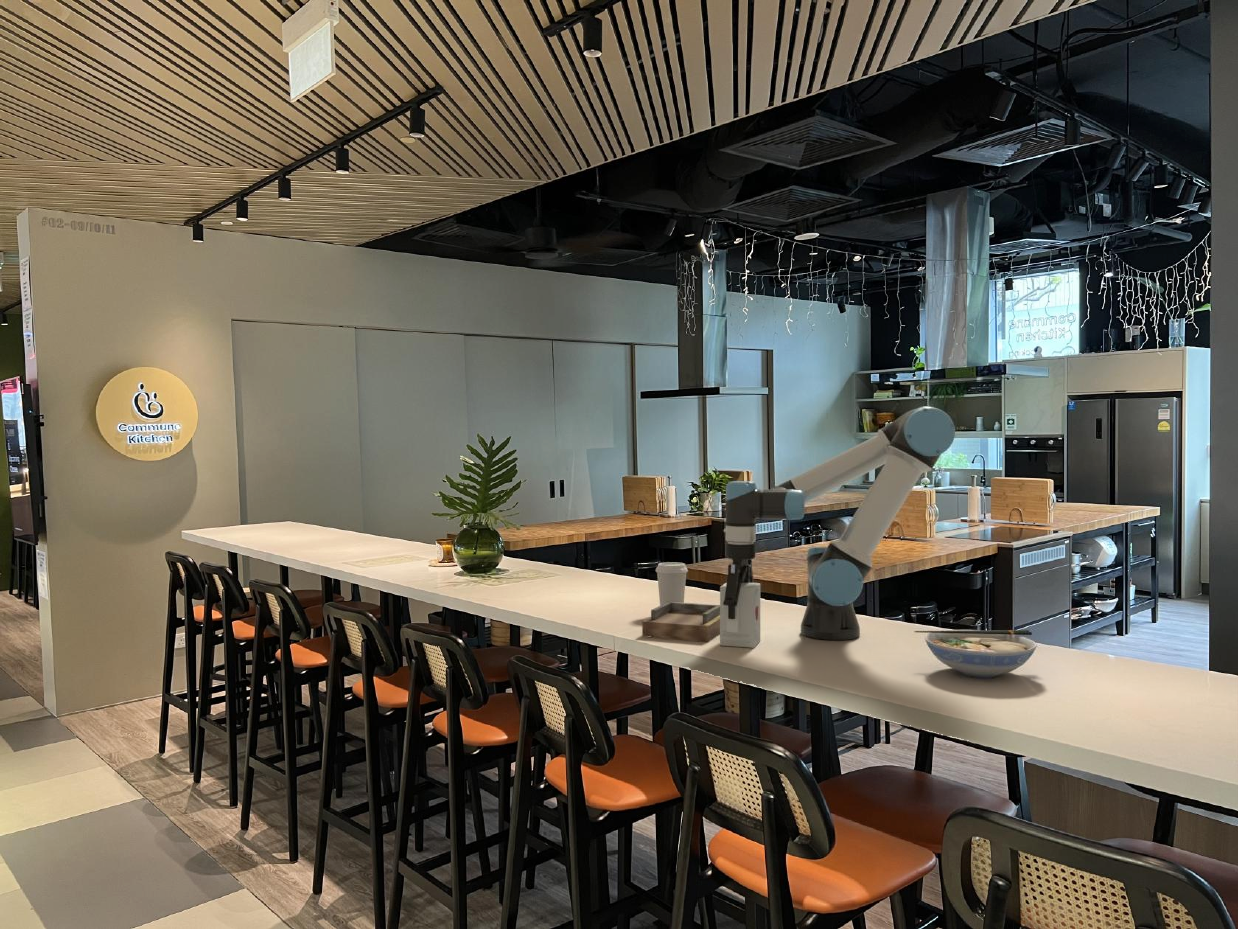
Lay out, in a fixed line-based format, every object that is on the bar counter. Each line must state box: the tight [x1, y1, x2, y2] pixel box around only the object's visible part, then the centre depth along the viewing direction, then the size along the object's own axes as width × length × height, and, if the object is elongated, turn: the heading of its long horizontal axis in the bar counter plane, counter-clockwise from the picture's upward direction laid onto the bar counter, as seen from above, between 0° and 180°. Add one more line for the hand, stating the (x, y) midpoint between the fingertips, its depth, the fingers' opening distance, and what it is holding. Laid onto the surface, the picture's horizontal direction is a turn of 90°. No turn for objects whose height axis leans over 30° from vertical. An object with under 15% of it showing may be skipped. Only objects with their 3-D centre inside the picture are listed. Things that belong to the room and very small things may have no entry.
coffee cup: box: [655, 561, 689, 606], centre depth 265 cm, size 10×10×15 cm
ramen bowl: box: [914, 629, 1038, 679], centre depth 195 cm, size 25×23×8 cm
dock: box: [641, 602, 720, 643], centre depth 240 cm, size 18×18×6 cm
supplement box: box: [719, 582, 761, 649], centre depth 226 cm, size 9×9×15 cm
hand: (739, 626), depth 226 cm, fingers open, 13 cm apart
